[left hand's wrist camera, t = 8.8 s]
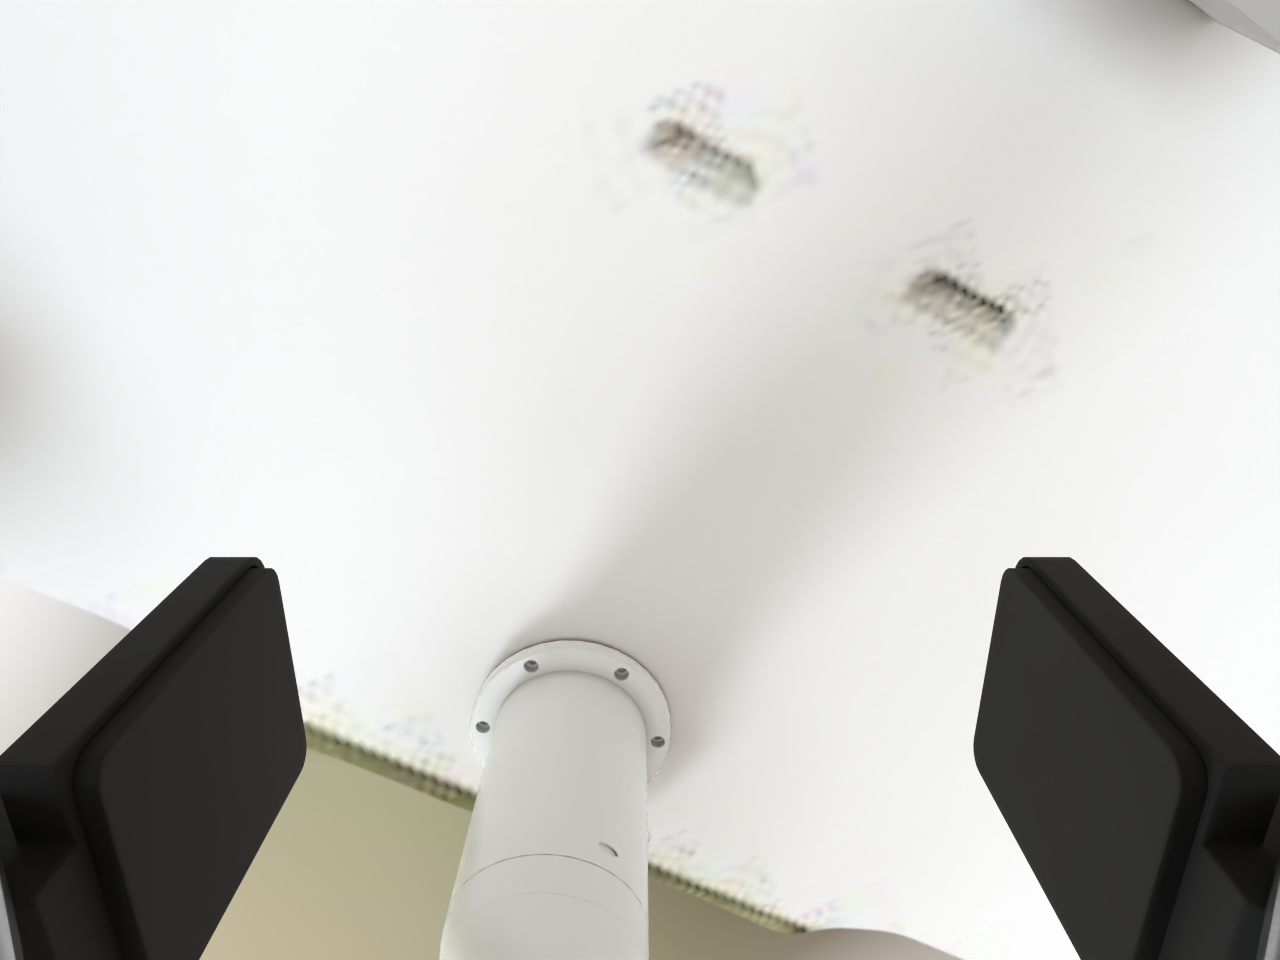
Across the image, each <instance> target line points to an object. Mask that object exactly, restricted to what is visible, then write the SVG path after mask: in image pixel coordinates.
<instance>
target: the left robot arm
mask: <svg viewBox="0 0 1280 960" xmlns="http://www.w3.org/2000/svg"><path fill="white" fill-rule="evenodd" d="M531 660H533V661H531ZM620 668H624V669H620ZM470 731H471V738H472V745H473V748H474V750H475V753H476V756H477V758H478V761H479V762H480V764H481V765H482V767H483V768H484V770H483V774H482V778H481V782H480V785H479V789H478V793H477V797H476V801H475V805H474V809H473V813H472V817H471V821H470V826H469V829H468V833H467V837H466V841H465V845H464V849H463V853H462V857H461V861H460V865H459V869H458V873H457V877H456V881H455V885H454V889H453V893H452V897H451V901H450V905H449V909H448V913H447V918H446V922H445V926H444V930H443V934H442V940H441V946H440V960H649V942H648V843H649V841H650V838H651V835H650V833H649V831H648V829H647V785H648V784H649V783H650V782H651V781H652V779H653V778H654V777H655V776H656V775H657V774H658V772H659V770H660V768H661V767H662V765H663V763H664V762H665V759H666V756H667V753H668V750H669V747H670V737H671V723H670V713H669V709H668V706H667V702H666V699H665V697H664V695H663V693H662V691H661V689H660V687H659V685H658V684H657V682H656V681H655V680H654V679H653V678H652V676H651V675H650V674H649V673H648V671H647V670H645V669H644V668H643V667H642V666H640V665H639V664H638V663H637V662H636V661H634V660H633V659H631V658H630V657H628V656H626V655H624V654H622V653H621V652H619V651H617V650H614V649H612V648H609V647H606V646H603V645H600V644H596V643H590V642H584V641H554V642H547V643H541V644H538V645H535V646H532V647H529V648H526V649H523V650H521V651H520V652H518V653H516V654H514V655H512V656H511V657H509V658H507V659H506V660H505V661H503V662H502V663H501V664H500V665H499V666H498V667H496V668H495V669H494V670H493V671H492V673H491V674H490V675H489V676H488V678H487V679H486V680H485V682H484V683H483V685H482V687H481V689H480V691H479V693H478V695H477V697H476V701H475V704H474V708H473V711H472V716H471V724H470ZM305 757H306V736H305V730H304V724H303V718H302V713H301V707H300V701H299V695H298V689H297V684H296V678H295V672H294V666H293V660H292V655H291V649H290V643H289V637H288V631H287V626H286V620H285V614H284V608H283V602H282V597H281V591H280V585H279V580H278V576H277V574H276V572H275V570H273V569H272V568H264V565H263V564H262V562H261V560H259V559H258V558H257V557H210V558H208V559H207V560H205V561H204V562H203V563H202V564H201V565H200V566H199V567H198V568H197V569H196V570H195V571H194V572H192V573H191V574H190V575H189V576H188V577H187V578H186V579H185V580H184V581H183V582H182V583H181V584H180V585H179V586H178V587H177V588H176V589H175V590H174V591H173V592H171V593H170V594H169V595H168V596H167V597H166V598H165V599H164V600H163V601H162V602H161V603H160V604H159V605H158V606H157V607H156V608H155V609H154V610H153V611H152V612H150V613H149V614H148V615H147V616H146V617H145V618H144V619H143V620H142V621H141V622H140V623H139V624H138V625H137V626H136V627H135V628H134V629H133V630H132V631H131V632H130V633H128V634H127V635H126V636H125V637H124V638H123V639H122V640H121V641H120V642H119V643H118V644H117V645H116V646H115V647H114V648H113V649H112V650H111V651H110V652H109V653H107V654H106V655H105V656H104V657H103V658H102V659H101V660H100V661H99V662H98V663H97V664H96V665H95V666H94V667H93V668H92V669H91V670H90V671H89V672H88V673H86V674H85V675H84V676H83V677H82V678H81V679H80V680H79V681H78V682H77V683H76V684H75V685H74V686H73V687H72V688H71V689H70V690H69V691H68V692H67V693H66V694H64V695H63V696H62V697H61V698H60V699H59V700H58V701H57V702H56V703H55V704H54V705H53V706H52V707H51V708H50V709H49V710H48V711H47V712H46V713H45V714H44V715H42V716H41V717H40V718H39V719H38V720H37V721H36V722H35V723H34V724H33V725H32V726H31V727H30V728H29V729H28V730H27V731H26V732H25V733H24V734H23V735H21V737H19V738H18V739H17V740H16V741H15V742H14V743H13V744H12V745H11V746H10V747H9V748H8V749H7V750H6V751H5V752H4V753H3V754H2V755H0V960H199V959H200V957H201V955H202V953H203V951H204V950H205V948H206V946H207V944H208V942H209V940H210V939H211V937H212V935H213V933H214V931H215V929H216V927H217V926H218V924H219V922H220V920H221V918H222V916H223V915H224V913H225V911H226V909H227V907H228V905H229V903H230V902H231V900H232V898H233V896H234V894H235V892H236V891H237V889H238V887H239V885H240V883H241V881H242V880H243V878H244V876H245V874H246V872H247V870H248V868H249V867H250V865H251V863H252V861H253V859H254V857H255V855H256V854H257V852H258V850H259V848H260V846H261V844H262V842H263V841H264V839H265V837H266V835H267V833H268V832H269V830H270V828H271V826H272V824H273V822H274V820H275V819H276V817H277V815H278V813H279V811H280V809H281V807H282V806H283V804H284V802H285V800H286V798H287V796H288V795H289V793H290V791H291V789H292V787H293V785H294V784H295V782H296V780H297V778H298V776H299V774H300V772H301V770H302V768H303V765H304V762H305ZM974 757H975V762H976V765H977V768H978V770H979V772H980V774H981V776H982V778H983V780H984V782H985V784H986V785H987V787H988V789H989V791H990V793H991V795H992V796H993V798H994V800H995V802H996V804H997V806H998V808H999V809H1000V811H1001V813H1002V815H1003V817H1004V819H1005V820H1006V822H1007V824H1008V826H1009V828H1010V830H1011V832H1012V833H1013V835H1014V837H1015V839H1016V841H1017V843H1018V844H1019V846H1020V848H1021V850H1022V852H1023V854H1024V856H1025V857H1026V859H1027V861H1028V863H1029V865H1030V867H1031V868H1032V870H1033V872H1034V874H1035V876H1036V878H1037V880H1038V881H1039V883H1040V885H1041V887H1042V889H1043V891H1044V892H1045V894H1046V896H1047V898H1048V900H1049V902H1050V904H1051V905H1052V907H1053V909H1054V911H1055V913H1056V915H1057V916H1058V918H1059V920H1060V922H1061V924H1062V926H1063V927H1064V929H1065V931H1066V933H1067V935H1068V937H1069V939H1070V940H1071V942H1072V944H1073V946H1074V948H1075V950H1076V951H1077V953H1078V955H1079V957H1080V959H1081V960H1280V755H1278V754H1277V753H1276V752H1275V751H1274V750H1273V749H1272V748H1271V747H1270V746H1269V745H1268V744H1267V743H1266V742H1265V741H1264V740H1263V739H1262V738H1261V737H1260V736H1259V735H1258V734H1256V733H1255V732H1254V731H1253V730H1252V729H1251V728H1250V727H1249V726H1248V725H1247V724H1246V723H1245V722H1244V721H1243V720H1242V719H1241V718H1240V717H1239V716H1238V715H1237V714H1235V713H1234V712H1233V711H1232V710H1231V709H1230V708H1229V707H1228V706H1227V705H1226V704H1225V703H1224V702H1223V701H1222V700H1221V699H1220V698H1219V697H1218V696H1217V695H1216V694H1214V693H1213V692H1212V691H1211V690H1210V689H1209V688H1208V687H1207V686H1206V685H1205V684H1204V683H1203V682H1202V681H1201V680H1200V679H1199V678H1198V677H1197V676H1196V675H1195V674H1194V673H1192V672H1191V671H1190V670H1189V669H1188V668H1187V667H1186V666H1185V665H1184V664H1183V663H1182V662H1181V661H1180V660H1179V659H1178V658H1177V657H1176V656H1175V655H1174V654H1173V653H1171V652H1170V651H1169V650H1168V649H1167V648H1166V647H1165V646H1164V645H1163V644H1162V643H1161V642H1160V641H1159V640H1158V639H1157V638H1156V637H1155V636H1154V635H1153V634H1152V633H1150V632H1149V631H1148V630H1147V629H1146V628H1145V627H1144V626H1143V625H1142V624H1141V623H1140V622H1139V621H1138V620H1137V619H1136V618H1135V617H1134V616H1133V615H1132V614H1131V613H1130V612H1128V611H1127V610H1126V609H1125V608H1124V607H1123V606H1122V605H1121V604H1120V603H1119V602H1118V601H1117V600H1116V599H1115V598H1114V597H1113V596H1112V595H1111V594H1110V593H1109V592H1107V591H1106V590H1105V589H1104V588H1103V587H1102V586H1101V585H1100V584H1099V583H1098V582H1097V581H1096V580H1095V579H1094V578H1093V577H1092V576H1091V575H1090V574H1089V573H1088V572H1086V571H1085V570H1084V569H1083V568H1082V567H1081V566H1080V565H1079V564H1078V563H1077V562H1076V561H1075V560H1073V559H1072V558H1070V557H1023V558H1022V559H1021V560H1019V562H1018V564H1017V565H1016V568H1008V569H1007V570H1005V572H1004V574H1003V576H1002V580H1001V585H1000V591H999V597H998V602H997V608H996V614H995V620H994V626H993V631H992V637H991V643H990V649H989V655H988V660H987V666H986V672H985V678H984V684H983V689H982V695H981V701H980V707H979V713H978V718H977V724H976V730H975V736H974Z"/></svg>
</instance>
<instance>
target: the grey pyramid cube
mask: <svg viewBox="0 0 1280 960" xmlns="http://www.w3.org/2000/svg"><path fill="white" fill-rule="evenodd" d="M1189 1H1190V2H1192V3H1193V4H1194V5H1196V6H1197V7H1198V8H1199V9H1201V10H1202V11H1203V12H1205V13H1206V14H1207V15H1208V16H1210V17H1211V18H1212V19H1213V20H1215V21H1216V22H1218V23H1220V24H1222V25H1224V26H1226V27H1228V28H1230V29H1232V30H1234V31H1236V32H1238V33H1240V34H1242V35H1244V36H1246V37H1248V38H1249V39H1251V40H1253V41H1255V42H1257V43H1259V44H1261V45H1263V46H1265V47H1267V48H1269V49H1271V50H1273V51H1275V52H1277V53H1279V54H1280V0H1189Z"/></svg>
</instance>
